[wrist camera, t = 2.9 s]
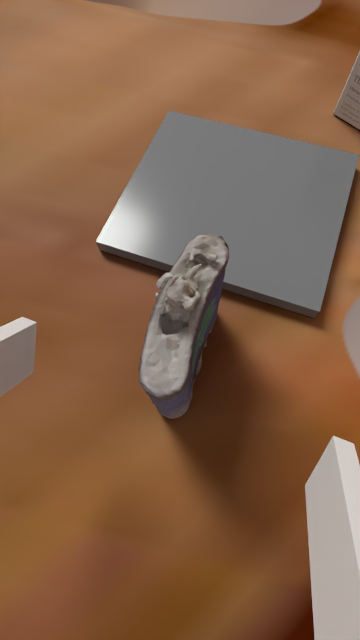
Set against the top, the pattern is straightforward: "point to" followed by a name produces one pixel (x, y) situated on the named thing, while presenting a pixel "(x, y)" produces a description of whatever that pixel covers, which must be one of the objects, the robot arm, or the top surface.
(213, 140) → the slate board
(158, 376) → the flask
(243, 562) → the top surface
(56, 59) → the top surface
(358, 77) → the supplement box
